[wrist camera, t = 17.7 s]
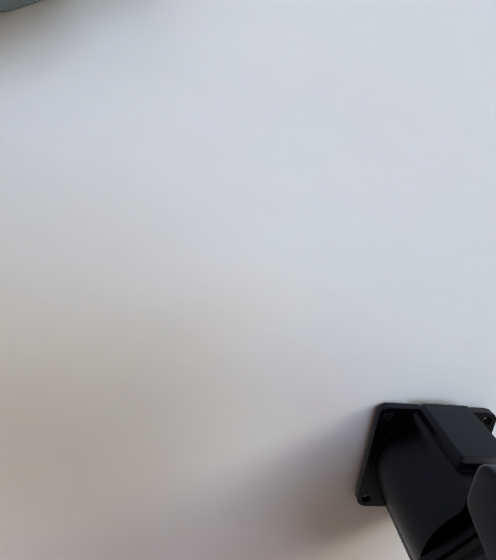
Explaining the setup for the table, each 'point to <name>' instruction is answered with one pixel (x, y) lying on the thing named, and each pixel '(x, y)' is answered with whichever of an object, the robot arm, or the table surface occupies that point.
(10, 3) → the green plastic ring
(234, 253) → the table surface
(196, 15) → the table surface
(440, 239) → the table surface
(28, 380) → the table surface
